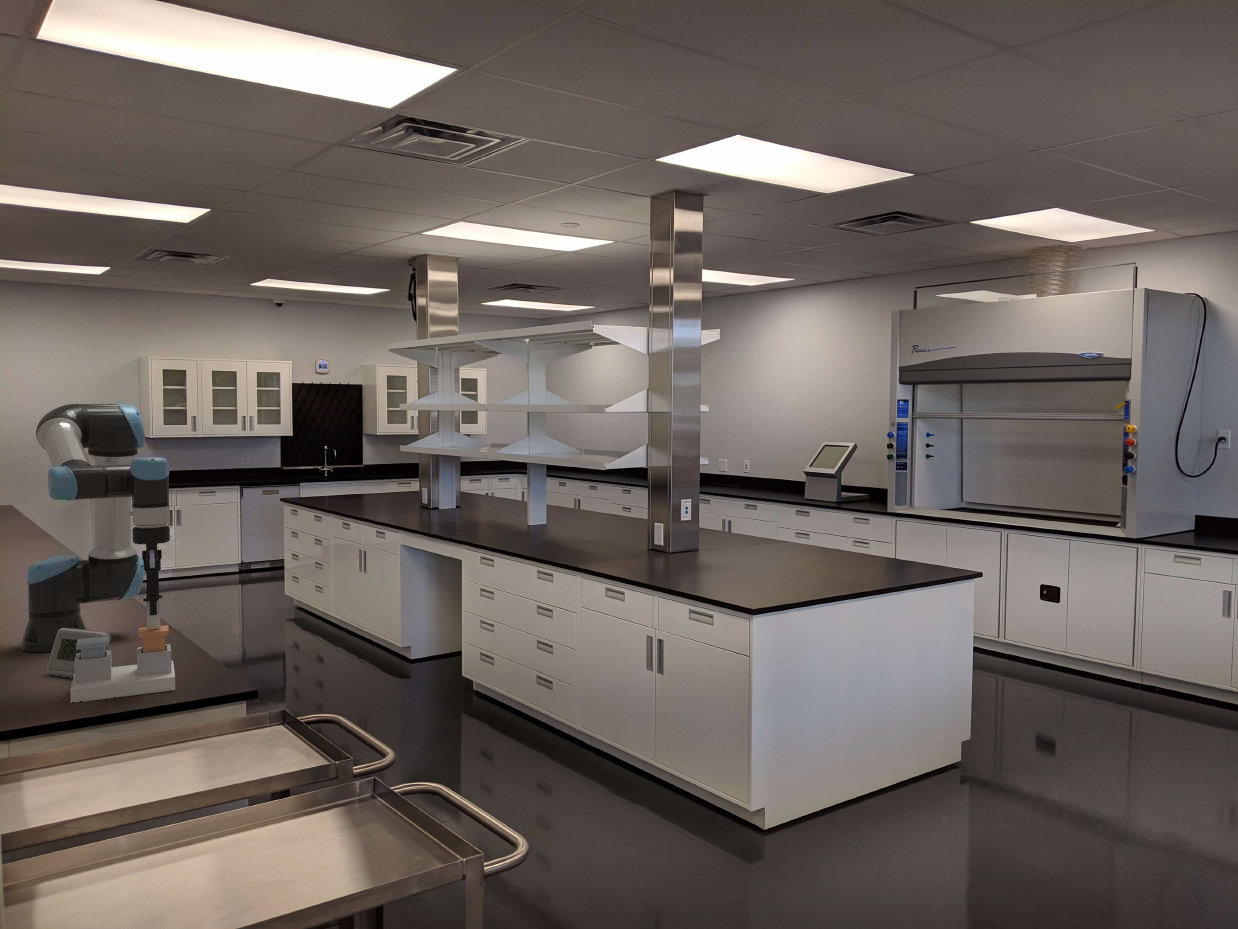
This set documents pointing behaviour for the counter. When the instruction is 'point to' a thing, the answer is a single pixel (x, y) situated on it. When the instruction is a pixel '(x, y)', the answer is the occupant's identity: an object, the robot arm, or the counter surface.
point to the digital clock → (69, 650)
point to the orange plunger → (153, 638)
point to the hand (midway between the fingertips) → (153, 628)
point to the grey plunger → (92, 647)
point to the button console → (122, 676)
